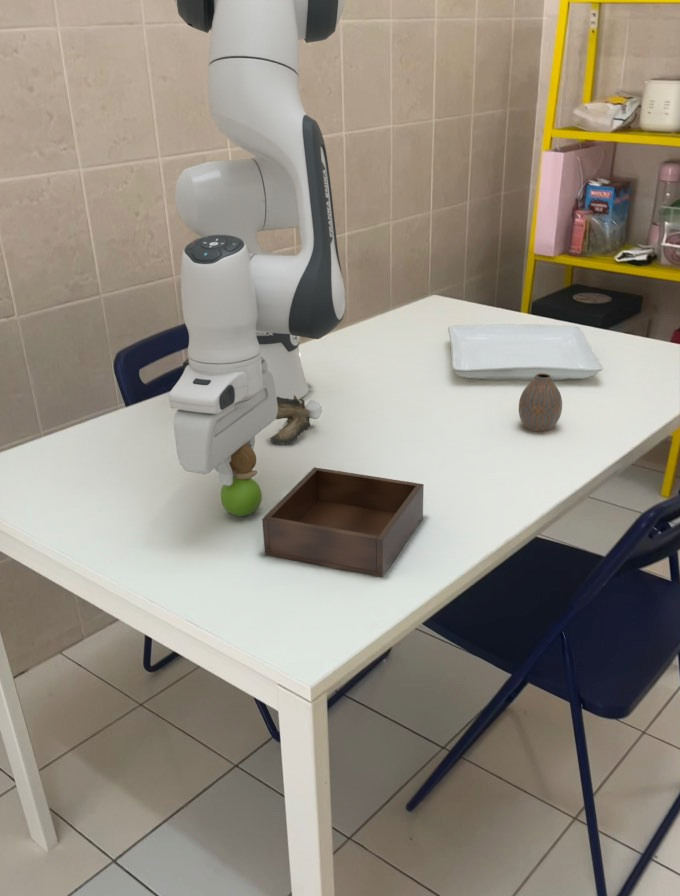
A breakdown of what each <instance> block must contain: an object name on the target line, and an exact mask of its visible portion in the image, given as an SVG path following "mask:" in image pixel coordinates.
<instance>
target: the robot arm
mask: <svg viewBox="0 0 680 896" xmlns="http://www.w3.org/2000/svg"><path fill="white" fill-rule="evenodd" d="M174 3H175V6H176V8H177V14H178V15H179V17H180V18H181V19H182V20H183V21H184V23H185V24H186V25H187V26H188V27H191V28H193V29H195V30H198V31H200V32H203V33H206V34H208V33H209V32H211V33H210V40H209V48H208V70H207V97H208V98H207V99H208V106H209V112H210V116H211V117H212V119H213V121H214V123H215V125H216V127H217V129H218V130H219V131H220V132H221V133H222V134H223V135H224V136H225V137H226V138H227V139H228V140H229V141H230V142H232V143H233V144H234V145H236V146H237V147H239V148H240V149H242V150H244V151H245V152H248V153H250V154H252V155H253V156H254V157H250V158H243V159H227V160H225V159H223V160H211V161H207V162H204V163H199V164H197V165H193V166H189V167H187V168H184V169H183V170H182V172H181V173H180V174H179V177H178V178H177V180H176V184H175V187H174V204H175V209H176V211H177V214H178V216H179V218H180V219H181V221H182V223H183V224H184V225H185V226H186V227H187V228H188V229H189V230H190V231H192V232H193V233H194V234H196V235H198V238H196V239H194V240H193V241H191V242H189V243H188V244H187V245H186V246H185V247H184V248H183V250H182V253H181V254H182V255H181V263H180V297H181V308H182V316H183V317H182V318H183V322H184V324H185V327H186V329H187V332H188V347H187V358H186V359H185V360H184V361H183V362H182V365H183V373H182V374H181V375H180V378H179V379H178V380H177V382H176V383H175V385H174V386H173V387H172V389H170V392H169V394H168V401H169V406H170V407H171V408H172V409H175V410H176V412H175V414H174V417H173V431H174V432H173V433H174V441H175V447H176V453H177V459H178V463H179V465H180V467H182V469H183V470H184V471H185V472H187V473H195V474H199V475H200V474H201V475H208V474H210V473H211V472H212V471H213V470H215V471H216V472H217V474H218V481H219V484H221V485H222V486H223V485H227V486H230V485H232V484H233V483H234V482H235V481H236V480H237V477H236V469H232V468H231V466H230V464H229V462H231V455H232V454H233V453H234V452H236V451H237V450H238V449H239V448H241V447H242V446H243V445H244V444H247V445H248V446H250V447H251V448H252V449H253V450H254V448H255V444H256V436H257V435H258V434H259V433H261V432H262V431H263V430H265V429H266V428H267V427H268V426H269V425H271V424H272V423H273V422H274V421H276V420H277V419H276V416H277V412H278V405H277V397H280V398H284V399H285V398H286V399H287V398H288V399H294V395H295V396H296V397H297V400H298V401H299V400H301V399H302V398H304V397H305V396H306V395H308V393H309V391H310V388H309V385H308V382H307V380H306V377H305V373H304V369H303V364H302V360H301V353H300V338H307V339H312V340H320V339H321V338H324V337H325V336H326V335H328V334H330V333H331V332H332V331H333V330H334V329H335V328H337V326H338V325H339V324H340V323H341V322H342V321H343V319H344V315H345V310H346V301H347V295H346V288H345V283H344V277H343V273H342V266H341V261H340V255H339V249H338V240H337V230H336V221H335V212H334V202H333V188H332V187H333V186H332V181H331V175H330V171H329V170H330V168H329V161H328V155H327V149H326V144H325V140H324V136H323V133H322V130H321V127H320V125H319V123H318V122H317V121H316V120H315V119H314V118H312V117H311V116H309V115H308V114H307V113H306V111H305V108H304V105H303V103H302V99H301V95H300V94H301V93H300V42H299V41H300V40H303V41H305V43H306V44H307V43H317V42H321V41H325V40H327V39H328V38H329V37H331V36H332V35H333V34H334V33H335V32H336V29H337V26H338V24H339V22H340V20H341V17H342V15H343V12H344V6H345V0H174ZM296 228H299V236H300V244H301V246H300V247H301V248H300V251H299V252H298V254H294V255H288V254H286V255H285V254H276V253H274V252H271V251H269V250H267V249H264V248H262V247H261V246H260V245H259V241H258V233H259V232H262V231H263V232H264V231H275V230H286V229H296Z"/></svg>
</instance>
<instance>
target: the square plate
mask: <svg viewBox="0 0 680 896" xmlns="http://www.w3.org/2000/svg"><path fill="white" fill-rule="evenodd" d="M447 332H448V338H449V340H450V341H449V342H450V349H451V368H452V371H453V372H454V373H455V374H456V375H457V376H459V377H461V378H466V379H476V380H477V379H478V380H483V381H532V380H533V379H534V377H535V375H536V374H539V373H546V374H549V375H550V376H551V378H552V381H565V380H572V379H587V378H591V377H593V376H595V375H596V374H598V373H600V372H601V371H602V370H604V367H603V364H602V363H601V361H600V359H599V358H598V356H597V354H596V352H595V351H594V349H593V347H592V345H591V344H590V342H589V340H588V339H587V336H586V335H585V333H584V331H583V329H582V327H580V326H579V325H569V324H568V325H567V324H566V325H565V324H538V323H537V324H536V323H535V324H534V323H504V324H503V323H500V324H499V323H498V324H496V323H495V324H491V323H490V324H465V325H463V324H462V325H460V324H459V325H449V326H448V327H447Z"/></svg>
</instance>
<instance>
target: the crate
mask: <svg viewBox="0 0 680 896" xmlns="http://www.w3.org/2000/svg"><path fill="white" fill-rule="evenodd" d="M424 485H425V484H424V483H418V482H412V481H405V480H399V479H393V478H386V477H380V476H374V475H373V476H372V475H368V474H367V475H366V474H361V473H355V472H354V473H353V472H347V471H342V470H334V469H328V468H321V467H315V466H314V467H313V468H311V470H309V472H308V473H307V474H306V475H304V476H303V478H301V480H300V481H298V483H297V484H295V486H293V488H291V489H290V490H289V491H288V493H287V494H286V495H284V496H283V497H282V499H281V500H279V501H278V502H277V503H276V504H275V505H274V506H273V507H272V508H271V509H270V511H268V512H267V513H266V514H265V515H264V516H263V517H262V518H261V523H262V536H263V546H264V555H265V556H270V557H276V558H281V559H284V560H285V559H286V560H291V561H296V562H301V563H307V564H312V565H316V566H323V567H327V568H331V569H336V570H337V569H338V570H344V571H347V572H353V573H358V574H364V575H369V576H373V577H374V576H375V577H379V578H383V577H384V576H385V575H386V574H387V572H388V570H389V568H391V566H392V564H393V563H394V562H395V560H396V558H397V557H398V556H399V554H400V552H401V551H402V550H403V548H404V547H405V545H406V544H407V543H408V541H409V540H410V538H411V537H412V535H413V533H414V532H415V531H416V529H417V528H418V526H419V525H420V524H421V522H422V520H423V519H424Z"/></svg>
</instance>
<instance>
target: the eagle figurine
mask: <svg viewBox="0 0 680 896" xmlns="http://www.w3.org/2000/svg"><path fill="white" fill-rule="evenodd" d="M277 405H278V412H277V416H276V419H275V420H282V419H287V420H286V421H285V422H284V423H283V424H282V428H281V429H280V430H279V431H278V432H277V433H276V434H274V435H272V436H271V437H270V442H271V444H272V445H274V446H275V445H279V446H281V445H287V444H291V443H293V442H295V441H296V440H297V439H298V437H300V436H301V435H302V434H303V433H304V432H306V431H308V430H309V428H311V422H310V419H311V420H318V419H319V418H320V416H321V414H322V412H323V410H322V405H321V403H319V401H316V400H313V399H311V400H309V401H308V402H307V404H306V403H305V399H302V398H300V400H299V399H298V400H297V397H296V396H295V395H294V399H288V398H287V399H286V398H285V399H284V398H280V397H277Z"/></svg>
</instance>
